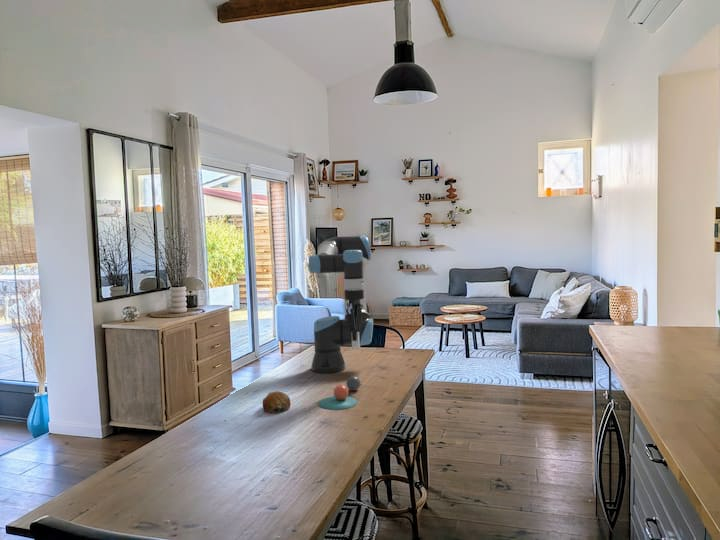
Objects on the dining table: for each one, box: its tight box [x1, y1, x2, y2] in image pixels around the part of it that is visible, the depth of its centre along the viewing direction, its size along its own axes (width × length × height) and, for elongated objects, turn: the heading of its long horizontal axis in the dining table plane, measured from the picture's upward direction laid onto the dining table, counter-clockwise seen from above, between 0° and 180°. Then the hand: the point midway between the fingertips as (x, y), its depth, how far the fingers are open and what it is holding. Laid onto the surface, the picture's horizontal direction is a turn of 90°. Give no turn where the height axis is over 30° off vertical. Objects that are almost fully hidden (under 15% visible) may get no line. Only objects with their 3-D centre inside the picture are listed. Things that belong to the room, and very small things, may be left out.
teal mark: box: [318, 396, 358, 411], centre depth 192 cm, size 14×14×1 cm
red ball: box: [333, 384, 349, 400], centre depth 195 cm, size 6×6×6 cm
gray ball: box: [345, 375, 361, 391], centre depth 206 cm, size 6×6×6 cm
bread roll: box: [262, 390, 291, 414], centre depth 188 cm, size 10×10×8 cm
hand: (355, 348), depth 210 cm, fingers closed
